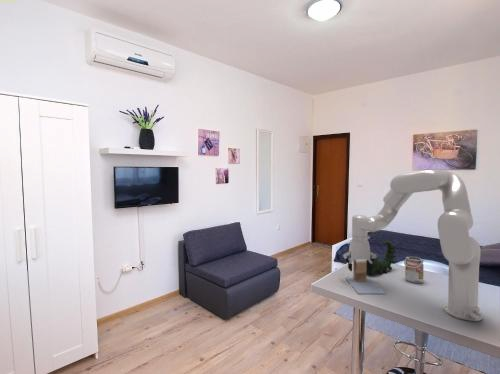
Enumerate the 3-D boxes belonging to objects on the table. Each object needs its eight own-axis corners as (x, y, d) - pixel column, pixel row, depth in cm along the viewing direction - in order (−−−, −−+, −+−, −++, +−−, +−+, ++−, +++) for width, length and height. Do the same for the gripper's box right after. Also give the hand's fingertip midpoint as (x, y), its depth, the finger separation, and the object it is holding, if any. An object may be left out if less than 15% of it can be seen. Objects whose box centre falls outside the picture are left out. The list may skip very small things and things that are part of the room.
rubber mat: (386, 294, 128) (386, 292, 128) (358, 294, 128) (358, 293, 128) (369, 278, 148) (369, 276, 148) (345, 278, 148) (345, 277, 148)
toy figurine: (384, 269, 165) (353, 272, 155) (386, 238, 164) (355, 239, 155) (398, 274, 156) (366, 278, 146) (401, 242, 156) (368, 243, 146)
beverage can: (419, 286, 136) (419, 262, 136) (401, 281, 143) (401, 258, 142) (426, 281, 142) (426, 258, 142) (408, 276, 149) (408, 255, 148)
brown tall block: (366, 281, 142) (366, 259, 141) (356, 281, 142) (356, 259, 141) (362, 278, 147) (362, 256, 146) (353, 278, 147) (353, 256, 146)
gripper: (373, 236, 147) (373, 267, 147) (341, 237, 147) (341, 267, 148) (379, 240, 139) (379, 272, 140) (345, 240, 140) (345, 272, 141)
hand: (359, 270), depth 144 cm, fingers open, 9 cm apart
